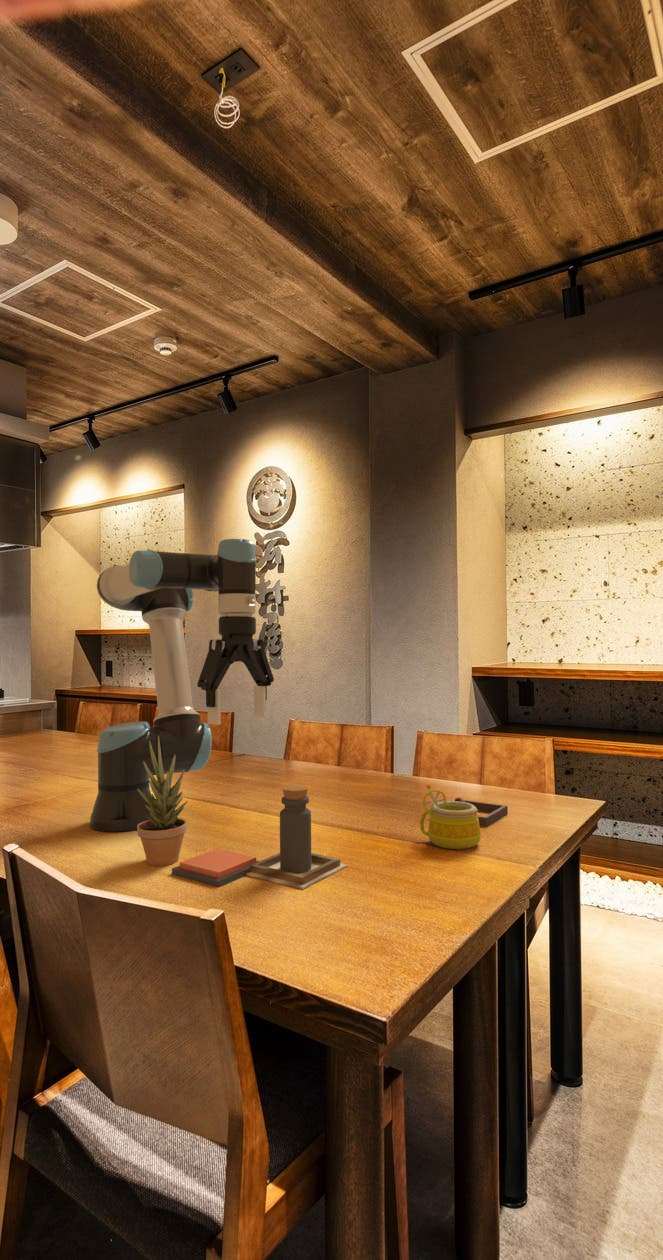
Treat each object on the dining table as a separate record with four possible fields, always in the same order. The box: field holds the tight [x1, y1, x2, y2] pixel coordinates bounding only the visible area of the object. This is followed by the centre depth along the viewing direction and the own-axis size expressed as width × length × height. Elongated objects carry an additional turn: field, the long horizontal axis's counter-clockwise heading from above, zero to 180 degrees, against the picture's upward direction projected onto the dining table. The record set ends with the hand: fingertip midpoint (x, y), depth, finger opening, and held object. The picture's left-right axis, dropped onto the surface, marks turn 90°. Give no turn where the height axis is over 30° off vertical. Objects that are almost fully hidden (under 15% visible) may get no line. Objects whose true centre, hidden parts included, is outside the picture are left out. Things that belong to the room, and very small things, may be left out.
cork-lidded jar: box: [279, 784, 312, 874], centre depth 126 cm, size 6×6×15 cm
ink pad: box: [171, 848, 260, 888], centre depth 126 cm, size 12×12×2 cm
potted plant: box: [136, 735, 188, 867], centre depth 132 cm, size 10×10×25 cm
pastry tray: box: [451, 798, 509, 828], centre depth 164 cm, size 14×14×2 cm
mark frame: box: [245, 852, 349, 890], centre depth 126 cm, size 14×14×2 cm
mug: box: [419, 784, 481, 850], centre depth 142 cm, size 13×11×12 cm
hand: (237, 720), depth 137 cm, fingers open, 13 cm apart
